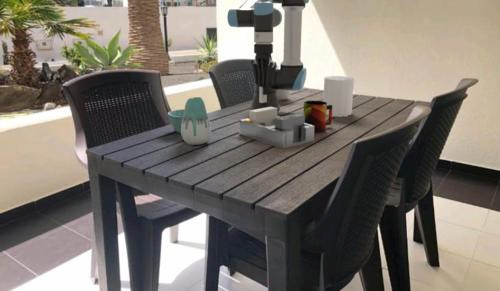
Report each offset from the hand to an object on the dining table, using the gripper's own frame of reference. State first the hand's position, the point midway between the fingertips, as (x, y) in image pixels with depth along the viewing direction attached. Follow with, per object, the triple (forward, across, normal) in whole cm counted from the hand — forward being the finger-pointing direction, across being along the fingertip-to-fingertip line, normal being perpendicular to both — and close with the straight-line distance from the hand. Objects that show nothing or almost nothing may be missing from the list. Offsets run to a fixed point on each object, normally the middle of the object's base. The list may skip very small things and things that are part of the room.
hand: (263, 102), depth 168 cm
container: (+13, -4, +53) cm, 55 cm away
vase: (+14, -6, -29) cm, 32 cm away
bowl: (+14, -23, -23) cm, 35 cm away
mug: (+13, +10, +22) cm, 28 cm away
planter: (+13, -51, +55) cm, 76 cm away
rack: (+13, +8, 0) cm, 15 cm away
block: (+12, 0, 0) cm, 12 cm away
